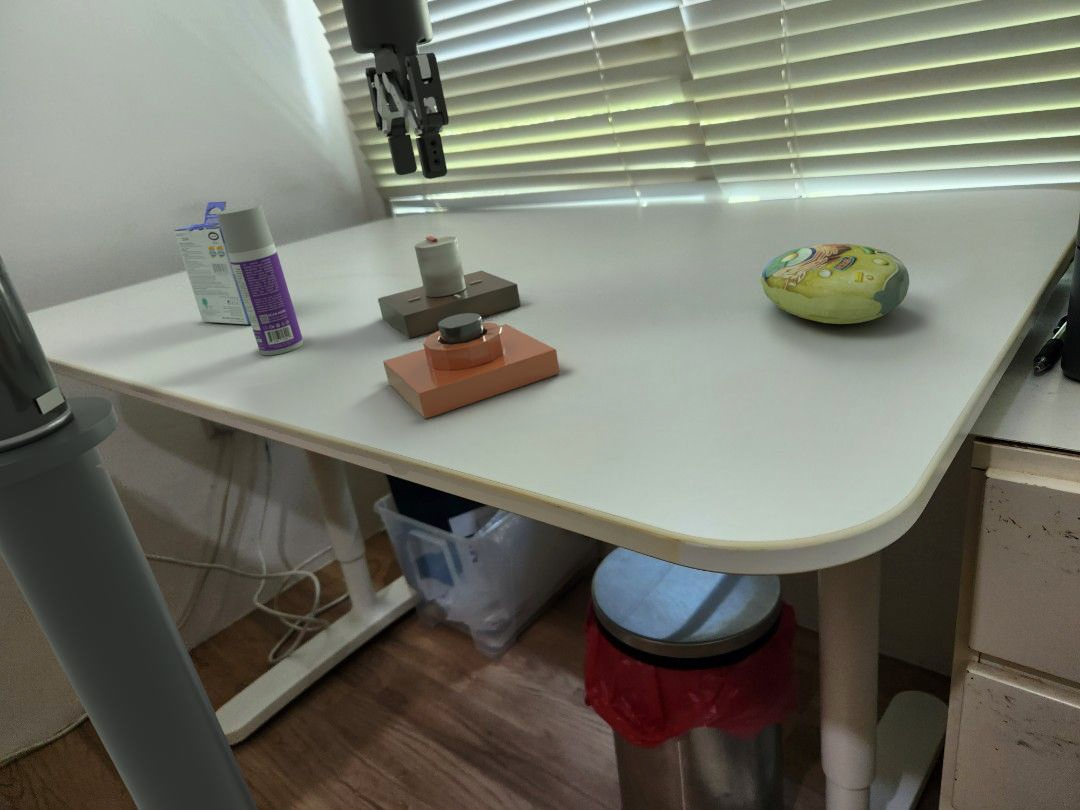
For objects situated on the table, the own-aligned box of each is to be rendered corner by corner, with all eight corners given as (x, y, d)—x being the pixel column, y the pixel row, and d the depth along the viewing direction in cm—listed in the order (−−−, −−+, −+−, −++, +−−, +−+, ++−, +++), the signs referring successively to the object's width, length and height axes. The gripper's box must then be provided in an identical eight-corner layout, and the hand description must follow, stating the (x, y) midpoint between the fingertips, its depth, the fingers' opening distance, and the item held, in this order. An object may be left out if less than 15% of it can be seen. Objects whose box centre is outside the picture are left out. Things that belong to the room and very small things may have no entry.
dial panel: (409, 338, 77) (403, 314, 76) (382, 319, 86) (377, 297, 85) (520, 305, 82) (516, 282, 81) (485, 290, 90) (481, 268, 89)
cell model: (805, 321, 57) (736, 220, 68) (811, 387, 63) (746, 284, 73) (946, 270, 56) (853, 175, 67) (939, 342, 62) (854, 244, 72)
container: (311, 338, 83) (271, 201, 77) (290, 353, 79) (246, 210, 73) (274, 341, 84) (232, 207, 78) (251, 356, 80) (205, 216, 74)
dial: (472, 289, 82) (461, 236, 79) (433, 299, 80) (421, 246, 78) (457, 282, 86) (447, 231, 83) (419, 292, 84) (408, 241, 82)
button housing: (425, 419, 58) (413, 371, 56) (388, 383, 66) (377, 341, 64) (560, 373, 62) (553, 328, 60) (509, 345, 70) (502, 305, 69)
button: (451, 350, 60) (446, 330, 60) (436, 340, 63) (432, 321, 63) (491, 338, 62) (487, 318, 61) (475, 329, 65) (471, 310, 64)
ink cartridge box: (284, 311, 96) (250, 197, 90) (249, 326, 92) (211, 207, 86) (236, 309, 101) (201, 201, 96) (201, 323, 97) (162, 211, 92)
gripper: (323, 6, 72) (364, 180, 78) (364, -20, 60) (408, 186, 66) (397, -2, 75) (431, 166, 81) (450, -29, 63) (484, 170, 69)
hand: (420, 175), depth 74 cm, fingers open, 8 cm apart
